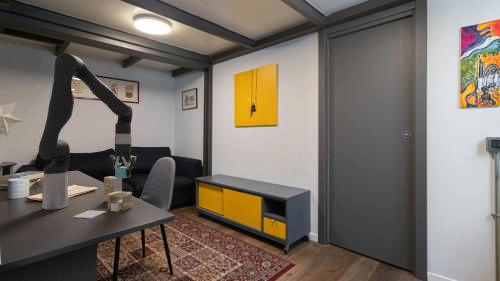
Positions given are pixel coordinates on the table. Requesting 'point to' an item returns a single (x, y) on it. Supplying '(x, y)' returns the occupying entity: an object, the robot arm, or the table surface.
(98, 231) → the table surface
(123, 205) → the tunnel
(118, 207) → the light grey rectangular block
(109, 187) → the supplement box
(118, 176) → the block
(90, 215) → the mat
